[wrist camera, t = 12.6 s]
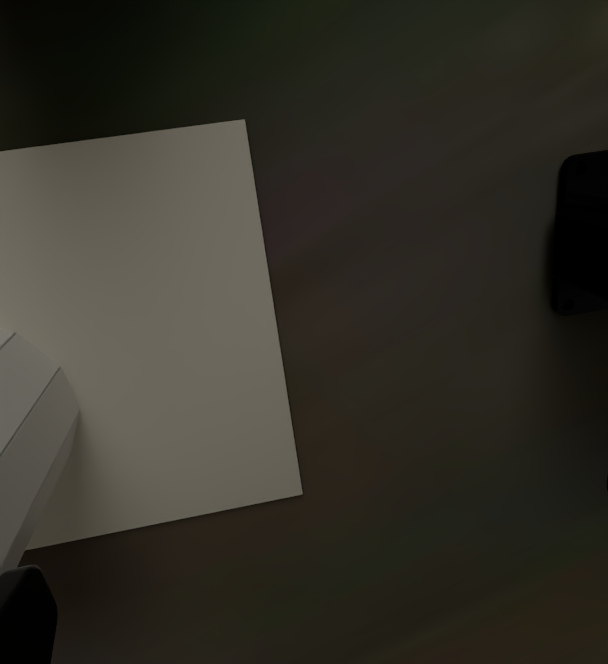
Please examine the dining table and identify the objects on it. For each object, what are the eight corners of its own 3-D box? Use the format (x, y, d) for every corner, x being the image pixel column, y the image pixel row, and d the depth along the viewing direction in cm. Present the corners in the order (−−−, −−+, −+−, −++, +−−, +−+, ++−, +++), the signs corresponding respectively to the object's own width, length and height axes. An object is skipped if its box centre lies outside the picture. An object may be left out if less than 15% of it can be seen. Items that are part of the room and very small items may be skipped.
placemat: (244, 119, 18) (244, 119, 17) (301, 490, 24) (302, 494, 23) (-260, 185, 16) (-269, 186, 16) (-60, 562, 22) (-63, 568, 22)
